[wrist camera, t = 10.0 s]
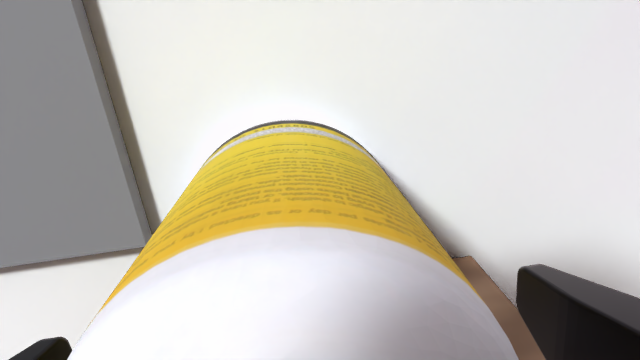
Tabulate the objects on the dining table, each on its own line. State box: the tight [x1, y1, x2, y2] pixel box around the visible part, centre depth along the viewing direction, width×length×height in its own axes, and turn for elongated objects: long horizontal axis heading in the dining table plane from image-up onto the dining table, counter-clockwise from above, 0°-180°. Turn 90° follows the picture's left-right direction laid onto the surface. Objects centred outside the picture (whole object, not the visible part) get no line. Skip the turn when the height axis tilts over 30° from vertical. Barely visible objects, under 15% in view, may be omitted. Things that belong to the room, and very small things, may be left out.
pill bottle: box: [67, 120, 519, 360], centre depth 8 cm, size 6×6×12 cm
